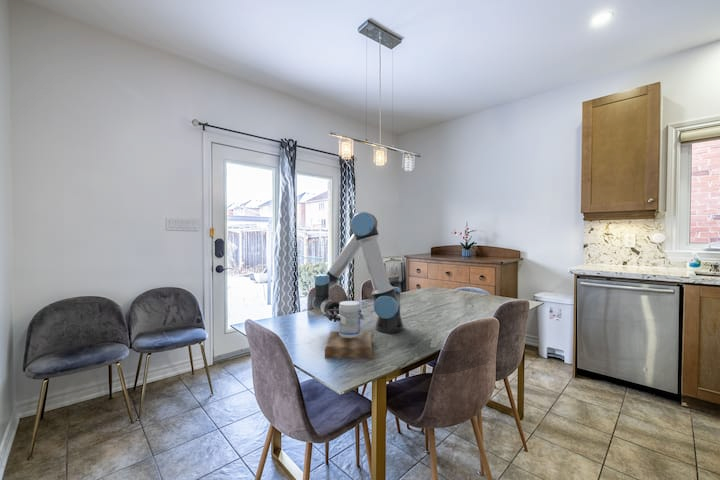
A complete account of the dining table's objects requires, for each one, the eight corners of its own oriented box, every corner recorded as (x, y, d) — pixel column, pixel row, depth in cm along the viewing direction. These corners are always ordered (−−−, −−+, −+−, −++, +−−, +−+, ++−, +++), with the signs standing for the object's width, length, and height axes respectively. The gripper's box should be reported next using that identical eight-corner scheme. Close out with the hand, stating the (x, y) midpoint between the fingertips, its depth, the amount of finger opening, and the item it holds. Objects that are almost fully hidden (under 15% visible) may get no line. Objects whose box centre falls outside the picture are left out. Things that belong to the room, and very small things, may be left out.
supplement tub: (363, 337, 136) (363, 304, 136) (342, 339, 133) (343, 306, 133) (355, 330, 145) (355, 299, 145) (336, 332, 142) (336, 301, 142)
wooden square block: (371, 341, 149) (371, 331, 149) (372, 358, 129) (372, 347, 129) (330, 341, 150) (330, 331, 149) (324, 358, 130) (324, 346, 129)
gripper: (349, 312, 160) (375, 323, 141) (310, 319, 148) (332, 332, 129) (349, 298, 160) (375, 307, 141) (310, 303, 148) (332, 314, 129)
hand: (355, 319), depth 135 cm, fingers closed on supplement tub, 9 cm apart
